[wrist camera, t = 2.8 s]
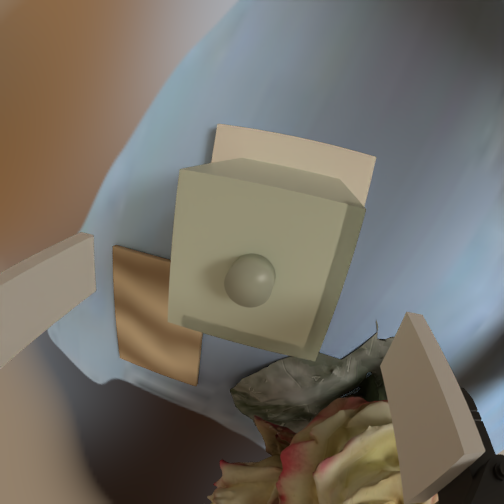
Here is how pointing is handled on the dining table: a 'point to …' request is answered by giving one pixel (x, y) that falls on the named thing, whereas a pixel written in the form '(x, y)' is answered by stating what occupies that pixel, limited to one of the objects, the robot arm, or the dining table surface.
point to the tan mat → (151, 318)
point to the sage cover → (261, 253)
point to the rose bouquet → (318, 434)
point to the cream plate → (296, 155)
